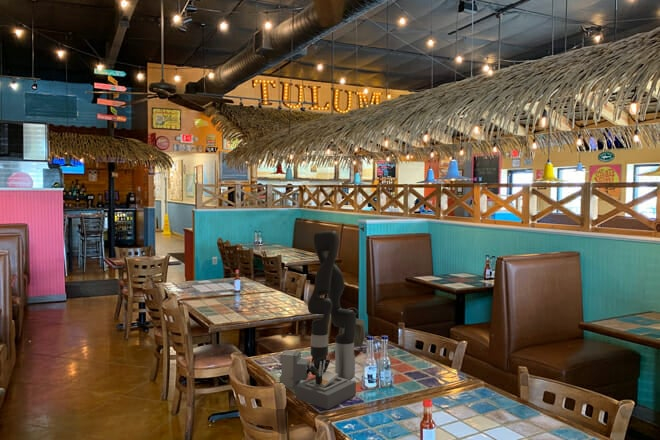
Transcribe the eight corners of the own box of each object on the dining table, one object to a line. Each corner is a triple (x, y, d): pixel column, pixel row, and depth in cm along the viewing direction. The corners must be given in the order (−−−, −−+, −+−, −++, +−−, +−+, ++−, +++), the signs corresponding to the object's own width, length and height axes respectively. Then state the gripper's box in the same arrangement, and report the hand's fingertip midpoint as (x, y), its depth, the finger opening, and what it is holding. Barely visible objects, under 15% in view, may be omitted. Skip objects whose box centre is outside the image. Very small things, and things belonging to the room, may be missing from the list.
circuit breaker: (309, 388, 232) (309, 356, 231) (279, 386, 234) (279, 354, 234) (313, 383, 239) (313, 351, 238) (284, 380, 242) (284, 349, 241)
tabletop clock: (365, 349, 294) (365, 306, 293) (363, 353, 285) (363, 310, 284) (340, 347, 297) (340, 305, 296) (338, 352, 288) (338, 308, 287)
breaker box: (324, 385, 235) (324, 371, 235) (355, 395, 224) (355, 379, 224) (295, 398, 220) (295, 383, 219) (328, 409, 209) (328, 393, 208)
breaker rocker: (327, 373, 228) (327, 370, 227) (338, 376, 224) (338, 373, 224) (313, 384, 220) (313, 381, 220) (324, 387, 216) (324, 384, 216)
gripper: (322, 339, 225) (321, 378, 225) (302, 345, 215) (302, 386, 215) (335, 342, 220) (334, 382, 221) (316, 348, 210) (315, 390, 210)
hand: (318, 384), depth 218 cm, fingers closed
